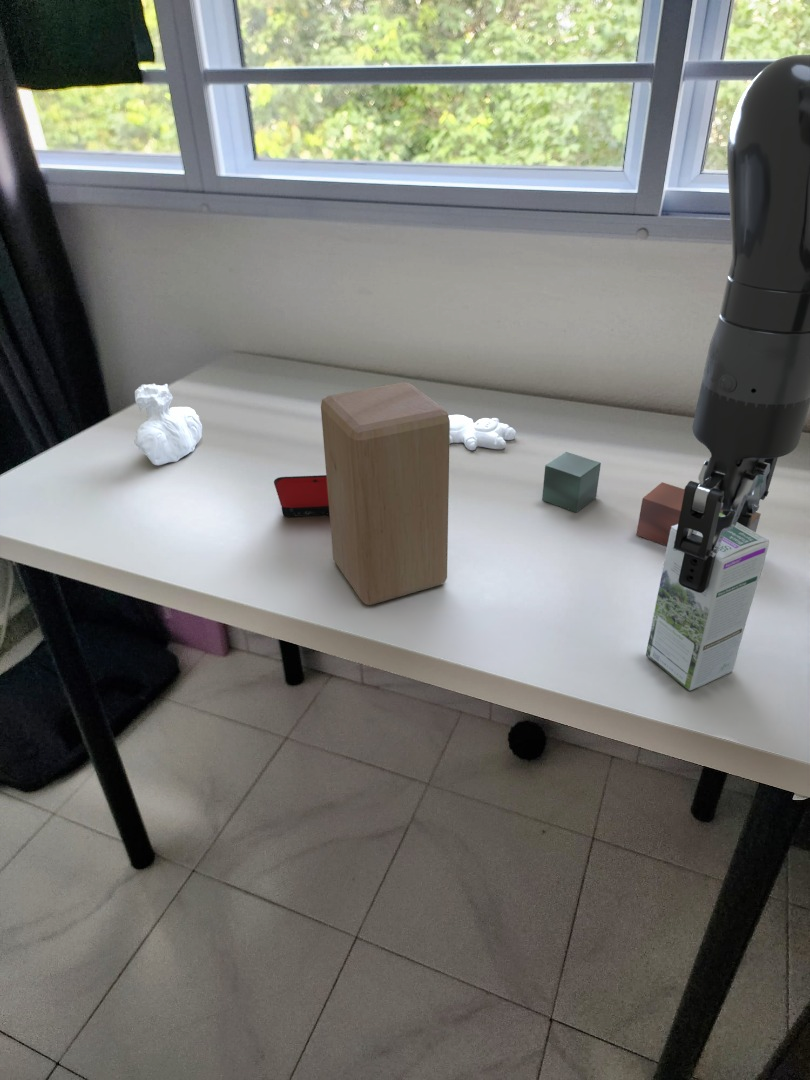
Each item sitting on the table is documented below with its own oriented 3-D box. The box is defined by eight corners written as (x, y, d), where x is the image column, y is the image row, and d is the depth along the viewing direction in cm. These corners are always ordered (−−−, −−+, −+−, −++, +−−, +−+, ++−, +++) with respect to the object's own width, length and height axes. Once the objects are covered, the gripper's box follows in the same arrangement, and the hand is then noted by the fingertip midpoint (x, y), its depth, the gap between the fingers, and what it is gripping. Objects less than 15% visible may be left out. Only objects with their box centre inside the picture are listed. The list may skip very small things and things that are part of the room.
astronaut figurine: (495, 457, 106) (496, 438, 104) (423, 439, 111) (423, 420, 110) (522, 435, 112) (523, 416, 110) (452, 418, 117) (452, 400, 116)
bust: (198, 450, 115) (151, 388, 112) (225, 428, 110) (177, 363, 108) (144, 484, 106) (92, 417, 103) (171, 462, 101) (117, 392, 99)
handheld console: (382, 486, 99) (380, 434, 95) (383, 529, 90) (381, 474, 86) (288, 489, 99) (282, 437, 95) (279, 532, 90) (272, 477, 86)
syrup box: (735, 672, 68) (775, 537, 60) (687, 694, 66) (722, 557, 58) (688, 636, 72) (719, 506, 65) (641, 656, 70) (668, 524, 62)
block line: (750, 551, 85) (761, 513, 82) (733, 570, 82) (743, 532, 79) (562, 485, 98) (566, 451, 96) (541, 500, 95) (544, 465, 93)
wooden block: (330, 561, 84) (316, 393, 74) (410, 540, 88) (408, 377, 77) (364, 611, 77) (353, 431, 66) (450, 585, 80) (454, 411, 69)
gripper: (776, 425, 48) (721, 627, 57) (842, 365, 57) (785, 547, 66) (665, 397, 52) (630, 589, 61) (743, 345, 61) (702, 519, 70)
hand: (711, 567), depth 63 cm, fingers closed on syrup box, 7 cm apart
